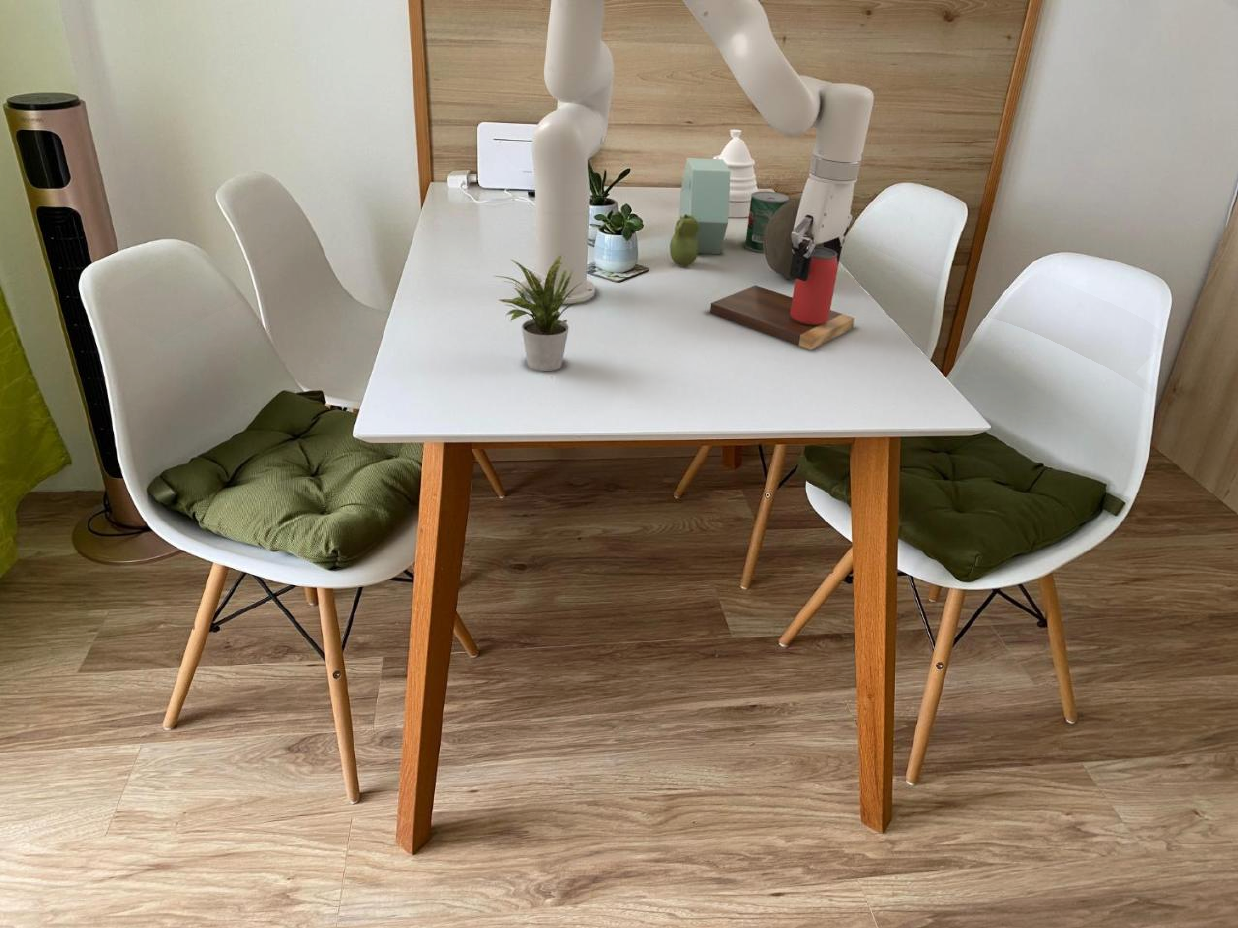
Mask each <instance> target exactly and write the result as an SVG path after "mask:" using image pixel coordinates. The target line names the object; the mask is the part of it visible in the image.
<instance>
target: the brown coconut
mask: <svg viewBox="0 0 1238 928" xmlns="http://www.w3.org/2000/svg"><path fill="white" fill-rule="evenodd" d="M800 201H801V198H799V199H794V200H790V201H788V203H785V204H784V205H782V206H781V207H780V208H779V209H778V210H777V211H776V212H775V213H774V215H773V216H772V217H771V219H770V220H769V222H768V224H767V226H766V230H765V233H764V238H763V249H764V253H763V254H764V258H765V261H766V263H767V265H768V267H769V268H770V269H771V270H772V271H774V273H776V274H778V275H780V276H782V277H783V278H785V279H786V280H789V281H796V278H793V277H790V275H789V274H790V268H791V263H792V258H793V253H792V249H793V248H792V236H791V234H792V232H793V230H794V226H795V221H796V217H797V212H798V208H799V204H800ZM807 237H810V238H814V237H811V236H807ZM827 242H829V241H827ZM803 243H804V244H805V247H806V248H807V247H808V245H809V243H806V242H803ZM823 246H824V243H821V244H816V245H815V247H823Z"/></svg>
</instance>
